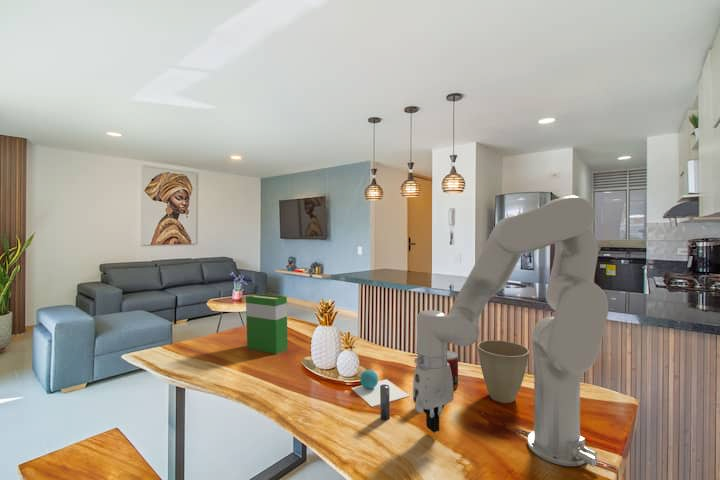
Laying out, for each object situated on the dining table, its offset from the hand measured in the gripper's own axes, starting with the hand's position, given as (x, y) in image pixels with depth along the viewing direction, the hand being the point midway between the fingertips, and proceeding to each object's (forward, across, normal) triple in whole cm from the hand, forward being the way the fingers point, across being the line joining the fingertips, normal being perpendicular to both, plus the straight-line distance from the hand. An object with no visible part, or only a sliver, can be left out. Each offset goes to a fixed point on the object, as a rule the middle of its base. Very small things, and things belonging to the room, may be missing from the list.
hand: (432, 429), depth 90 cm
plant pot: (+2, +32, +5) cm, 32 cm away
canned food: (+2, +22, +20) cm, 30 cm away
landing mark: (+2, 0, +27) cm, 27 cm away
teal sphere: (-2, -2, +31) cm, 31 cm away
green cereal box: (+2, -23, +89) cm, 92 cm away
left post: (+2, -6, +13) cm, 15 cm away
